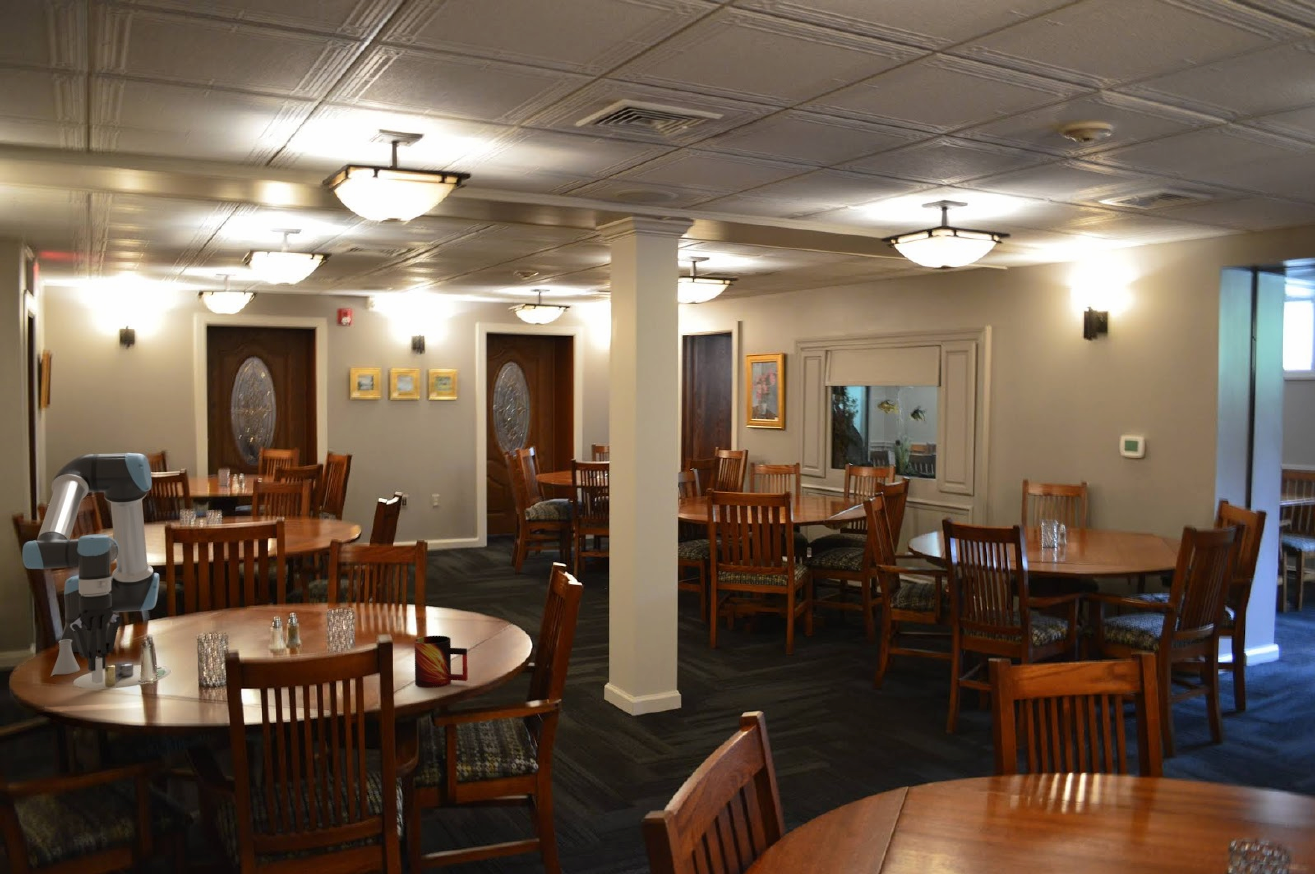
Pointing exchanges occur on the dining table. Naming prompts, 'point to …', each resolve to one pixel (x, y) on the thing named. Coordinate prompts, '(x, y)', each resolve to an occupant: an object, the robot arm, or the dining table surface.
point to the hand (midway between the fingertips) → (97, 681)
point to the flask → (65, 659)
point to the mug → (437, 662)
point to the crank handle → (117, 672)
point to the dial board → (132, 680)
